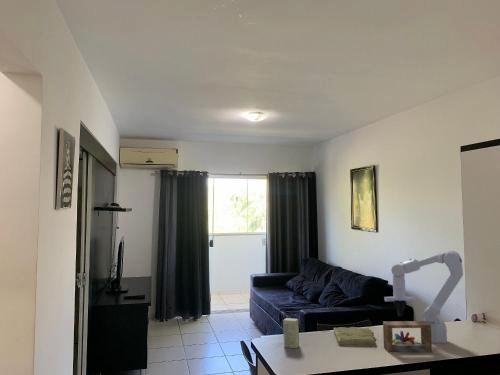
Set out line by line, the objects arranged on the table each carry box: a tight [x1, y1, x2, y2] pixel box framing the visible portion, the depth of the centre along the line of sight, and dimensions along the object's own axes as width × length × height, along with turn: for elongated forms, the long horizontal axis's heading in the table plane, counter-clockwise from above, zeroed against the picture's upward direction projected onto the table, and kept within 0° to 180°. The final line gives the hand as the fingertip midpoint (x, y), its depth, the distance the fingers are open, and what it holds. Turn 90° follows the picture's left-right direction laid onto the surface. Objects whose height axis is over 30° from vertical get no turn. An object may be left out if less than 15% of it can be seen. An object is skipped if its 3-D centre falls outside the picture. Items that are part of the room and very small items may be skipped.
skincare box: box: [282, 317, 300, 349], centre depth 175 cm, size 6×4×12 cm
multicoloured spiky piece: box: [393, 330, 416, 344], centre depth 172 cm, size 8×10×7 cm
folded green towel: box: [333, 326, 377, 347], centre depth 184 cm, size 19×20×4 cm
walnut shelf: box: [382, 320, 433, 354], centre depth 169 cm, size 19×7×12 cm, turn 90°
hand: (400, 315), depth 190 cm, fingers closed
